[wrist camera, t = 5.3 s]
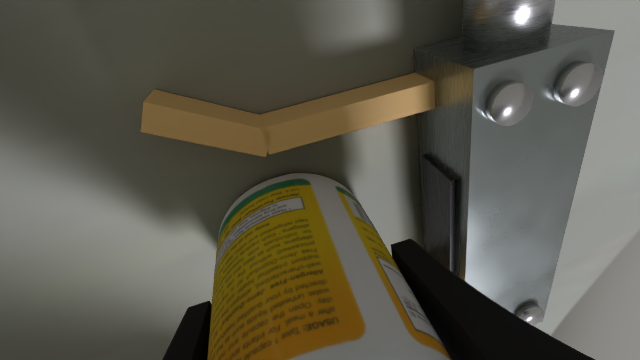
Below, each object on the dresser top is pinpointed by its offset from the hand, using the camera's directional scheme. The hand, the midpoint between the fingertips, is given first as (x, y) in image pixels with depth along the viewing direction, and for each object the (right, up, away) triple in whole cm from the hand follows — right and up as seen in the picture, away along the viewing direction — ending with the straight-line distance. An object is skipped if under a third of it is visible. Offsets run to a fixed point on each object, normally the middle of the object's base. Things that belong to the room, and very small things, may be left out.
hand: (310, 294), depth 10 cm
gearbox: (+6, +4, +2) cm, 7 cm away
